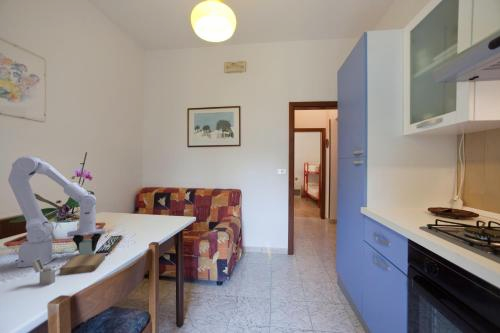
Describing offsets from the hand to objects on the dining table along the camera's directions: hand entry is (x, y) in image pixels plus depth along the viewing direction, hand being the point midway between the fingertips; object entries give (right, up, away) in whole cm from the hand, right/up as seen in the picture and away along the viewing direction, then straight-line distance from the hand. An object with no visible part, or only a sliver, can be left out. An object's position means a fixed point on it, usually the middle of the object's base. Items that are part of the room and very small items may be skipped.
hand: (87, 250), depth 95 cm
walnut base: (+8, -2, -11) cm, 14 cm away
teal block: (0, -1, 0) cm, 1 cm away
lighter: (+3, -2, -23) cm, 23 cm away
